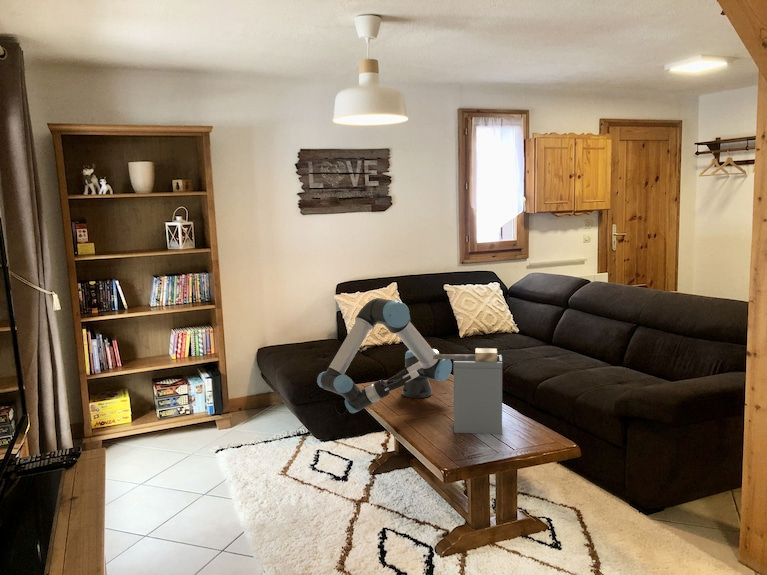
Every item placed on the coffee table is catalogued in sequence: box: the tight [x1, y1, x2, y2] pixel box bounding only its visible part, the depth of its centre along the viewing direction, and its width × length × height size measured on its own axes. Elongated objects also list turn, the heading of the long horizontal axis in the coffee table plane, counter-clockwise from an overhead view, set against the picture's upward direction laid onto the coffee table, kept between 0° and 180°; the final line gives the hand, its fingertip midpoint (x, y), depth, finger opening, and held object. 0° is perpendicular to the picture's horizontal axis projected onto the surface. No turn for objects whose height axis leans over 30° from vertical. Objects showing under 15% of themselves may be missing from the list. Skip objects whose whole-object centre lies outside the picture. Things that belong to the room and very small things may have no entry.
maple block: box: [433, 347, 498, 362], centre depth 263 cm, size 27×8×6 cm, turn 81°
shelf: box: [453, 354, 503, 435], centre depth 264 cm, size 20×14×31 cm
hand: (419, 368), depth 266 cm, fingers open, 13 cm apart
